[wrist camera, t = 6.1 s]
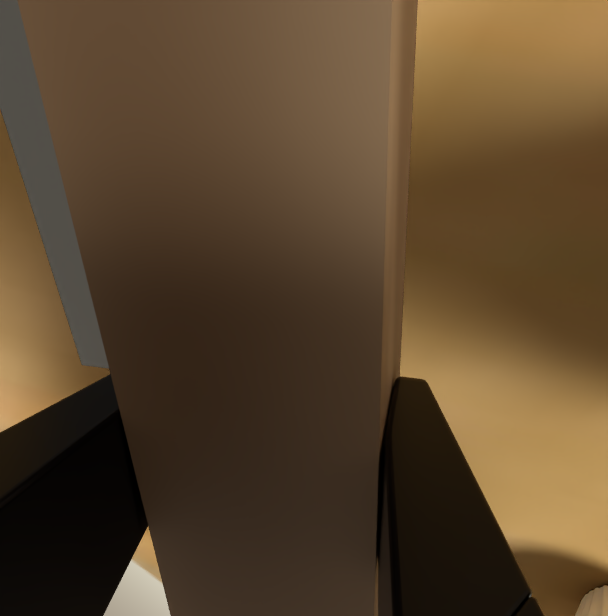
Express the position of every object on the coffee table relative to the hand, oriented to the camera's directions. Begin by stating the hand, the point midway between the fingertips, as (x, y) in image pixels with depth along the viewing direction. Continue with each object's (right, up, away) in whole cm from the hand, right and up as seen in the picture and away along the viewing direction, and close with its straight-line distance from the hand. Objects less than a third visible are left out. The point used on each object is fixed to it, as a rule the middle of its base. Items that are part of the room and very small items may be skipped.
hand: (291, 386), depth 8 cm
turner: (0, -2, +2) cm, 3 cm away
